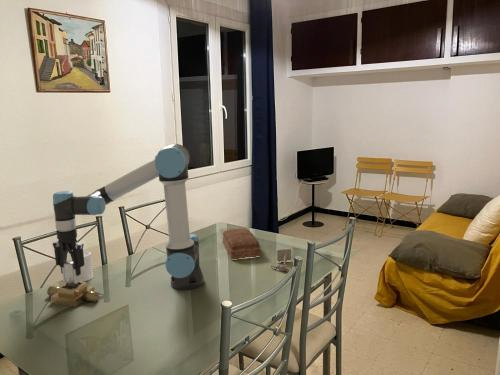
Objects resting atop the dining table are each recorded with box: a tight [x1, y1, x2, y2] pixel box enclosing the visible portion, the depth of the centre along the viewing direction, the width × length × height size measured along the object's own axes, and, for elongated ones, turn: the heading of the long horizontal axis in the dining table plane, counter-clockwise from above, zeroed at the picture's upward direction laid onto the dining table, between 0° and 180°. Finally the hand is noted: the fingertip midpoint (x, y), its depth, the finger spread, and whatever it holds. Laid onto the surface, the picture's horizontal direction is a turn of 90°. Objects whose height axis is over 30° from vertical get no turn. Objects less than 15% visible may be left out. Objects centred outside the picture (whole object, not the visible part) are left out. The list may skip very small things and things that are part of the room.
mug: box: [80, 250, 94, 282], centre depth 181 cm, size 12×8×12 cm
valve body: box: [46, 281, 101, 308], centre depth 163 cm, size 23×12×6 cm, turn 75°
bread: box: [222, 227, 261, 260], centre depth 217 cm, size 17×29×11 cm, turn 14°
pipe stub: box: [64, 259, 79, 289], centre depth 162 cm, size 5×5×12 cm
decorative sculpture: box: [270, 247, 292, 272], centre depth 195 cm, size 16×10×7 cm, turn 170°
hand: (72, 281), depth 162 cm, fingers closed on pipe stub, 5 cm apart
